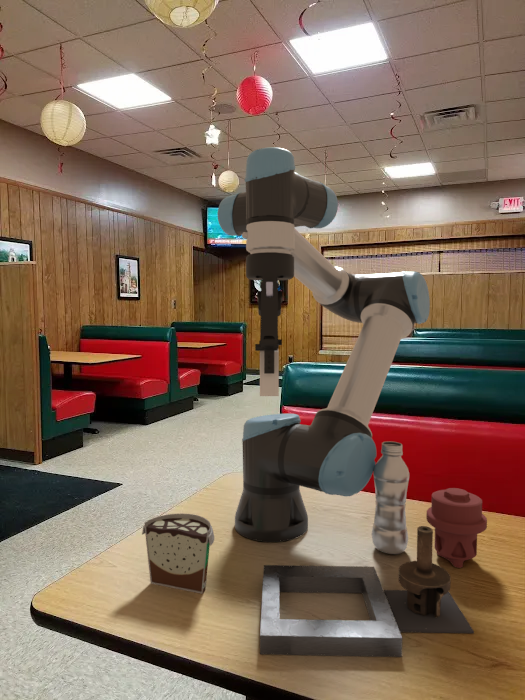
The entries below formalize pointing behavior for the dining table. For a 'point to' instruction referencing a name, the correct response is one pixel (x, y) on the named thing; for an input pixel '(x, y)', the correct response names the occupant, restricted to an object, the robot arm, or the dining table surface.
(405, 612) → the rubber mat
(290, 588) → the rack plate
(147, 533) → the food container
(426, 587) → the industrial component
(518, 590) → the dining table surface
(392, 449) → the plastic bottle
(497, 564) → the dining table surface
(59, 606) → the dining table surface
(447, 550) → the mechanical component
